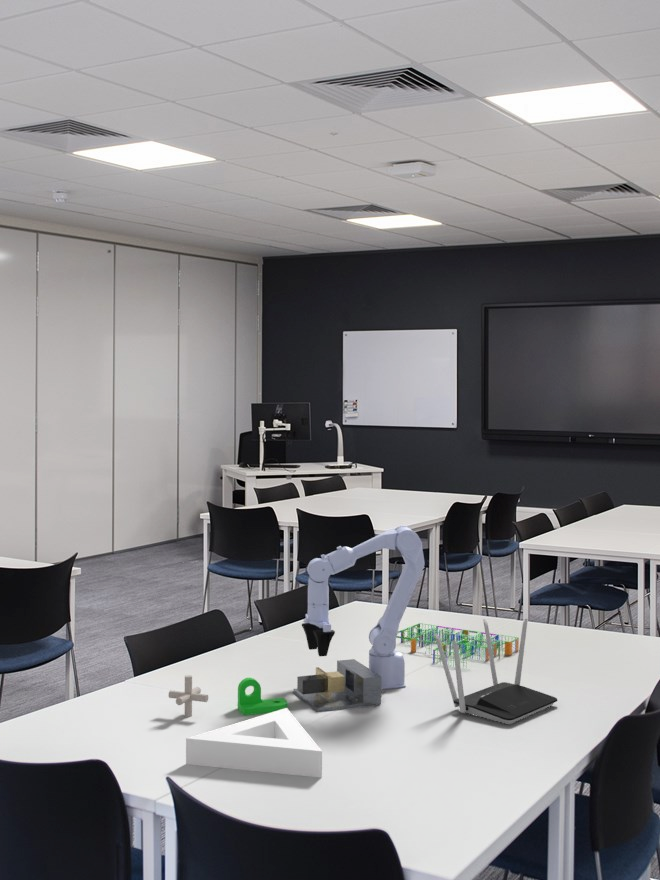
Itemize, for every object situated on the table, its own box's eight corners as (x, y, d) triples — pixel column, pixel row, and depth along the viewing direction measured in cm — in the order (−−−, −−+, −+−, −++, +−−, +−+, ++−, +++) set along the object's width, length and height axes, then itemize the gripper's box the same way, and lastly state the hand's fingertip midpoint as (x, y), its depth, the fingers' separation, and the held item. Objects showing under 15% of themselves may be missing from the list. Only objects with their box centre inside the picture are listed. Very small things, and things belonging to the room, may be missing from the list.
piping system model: (519, 652, 314) (519, 637, 314) (480, 673, 289) (480, 656, 289) (420, 636, 333) (420, 622, 333) (376, 655, 308) (376, 640, 308)
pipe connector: (215, 712, 249) (215, 672, 249) (197, 724, 240) (197, 683, 239) (179, 708, 253) (179, 669, 252) (160, 720, 243) (160, 679, 243)
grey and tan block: (334, 687, 266) (334, 665, 266) (347, 697, 258) (347, 674, 258) (294, 692, 262) (294, 669, 262) (305, 702, 254) (306, 678, 253)
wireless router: (497, 733, 236) (499, 649, 235) (419, 712, 251) (420, 633, 251) (569, 702, 261) (570, 626, 260) (494, 684, 276) (495, 613, 275)
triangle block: (321, 781, 207) (322, 751, 207) (196, 794, 199) (197, 763, 199) (286, 734, 236) (286, 707, 235) (176, 744, 228) (176, 716, 228)
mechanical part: (243, 716, 247) (243, 684, 247) (237, 709, 253) (237, 678, 252) (290, 712, 251) (290, 680, 251) (283, 705, 257) (283, 674, 256)
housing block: (353, 686, 273) (354, 659, 273) (381, 705, 257) (381, 676, 256) (293, 692, 267) (293, 664, 267) (317, 712, 250) (317, 682, 250)
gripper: (295, 598, 277) (295, 647, 277) (313, 609, 263) (313, 660, 264) (319, 597, 279) (318, 645, 280) (338, 607, 266) (338, 658, 267)
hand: (317, 652), depth 272 cm, fingers open, 7 cm apart
